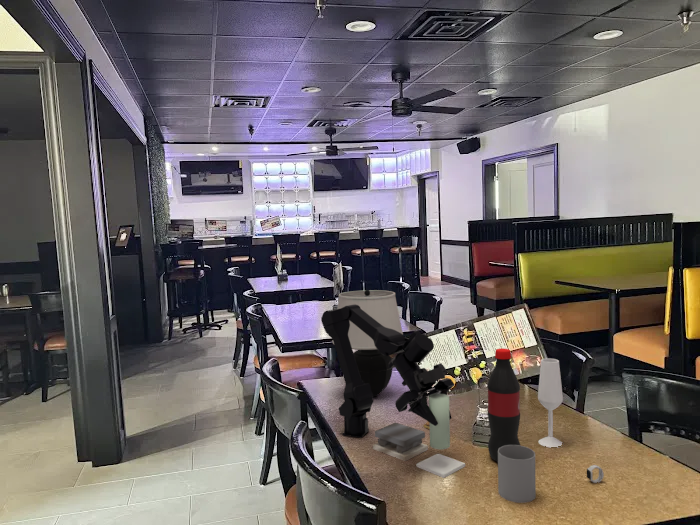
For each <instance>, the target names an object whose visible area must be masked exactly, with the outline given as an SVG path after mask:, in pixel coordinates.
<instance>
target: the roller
mask: <svg viewBox="0 0 700 525" xmlns="http://www.w3.org/2000/svg"><path fill="white" fill-rule="evenodd" d="M428 406H429V408H430V410H431V411H432V413H433V415H434V416H435V418H436V420H437V422H438V424H437V425H436V426H434V425H433V424H431V423H430V422H429V425H430V429H429V446H430V448H432V449H435V450H446V449H449V448H450V447H451V431H450V430H451V429H450V427H451V426H450V424H451V423H450V422H451V419H450V418H449V410H450V396H449V395H448V394H447V395H445V394H432V395H430V396H429V397H428Z"/></svg>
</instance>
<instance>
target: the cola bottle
mask: <svg viewBox="0 0 700 525" xmlns="http://www.w3.org/2000/svg"><path fill="white" fill-rule="evenodd" d="M494 354H495V355H494V359H495V365H494V368H493V370H492V372H491V374H490V377H489V379H488V381H487V383H486V384H487V386H486V389H487V417H488V418H487V419H488V424H489V429H490V436H489V440H488V444H487V449H488V453H489V457H490V458H491V459H492V460H493V461H495V462H497V463H498V449H499V448H500V447H502V446H506V445H520V446H521V442H520V440H519V436H518V434H519V428H520V422H521V408H520V407H521V405H520V404H521V403H520V400H521V399H520V398H521V397H520V391H521V385H520V382H519V380H518V378H517V375H516V373H515V371H514V369H513V367H512V365H511V364H512V363H511V359H512V352H511V349H509V348H501V347H500V348H497V349H495V353H494Z"/></svg>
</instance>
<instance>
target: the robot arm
mask: <svg viewBox="0 0 700 525" xmlns="http://www.w3.org/2000/svg"><path fill="white" fill-rule="evenodd" d="M321 315H322V316H321V317H320V318H321V324H322V326H323V329H324V331H325V333H326V334H327V335H328V336H329V337H330V338H331V339H332V340H333V342H334V344H333V345H334V348H335V352H336V356H337V359H338V363H339V366H340V369H341V372H342V377H343V379H344V380H343V381H344V383H345V386H344V389H343V390H344V391H343V400H344V401H343V403H342V404H341V405H340V406H339V407H338V413H339V415H340V416H341V417H343V423H344V424H343V425H344V426H343V427H344V431H343V432H342V436H346V437H353V438H363V437H364V436H365V435H366V434H367V433H368V432H369V430H370V429H369V418H367V413H370V412H371V410H372V405H373V403H374V397H375V396H374V395H373V394H372V391H371V387H370V384H369V383H367V384H365V383H364V382H363V381H362V380H361V377H360V374H359V371H358V367H357V364H356V360H355V357H354V354H353V353H354V351H353V350H354V349H352V347H351V343H350V340H349V337H348V332H349V328H350V322H349V321H351V322H352V323H353V324H355V325H356V326H357V327H358V328H360V329H361V330H362V331H363V332H364V333H366V334H367V335H368V336H369V337H371V338H372V339H373V341H374V345H375V347H376V348H377V349H378V350H379V351H380V352H381V354H383V355H384V356H393V355H395V356H394V357H391V359H389V366H388V368H389V369H391V368H393V369H394V368H395V369H396V371H397V373H398V374H399V376H400V378H402V380H403V381H402V382H401V384H402V386H403V387H405V386H407V389H409V390H407V391H405V392H403V393H402V394H401V395H400V396H399V397H398V398H397V399H396V400H395V408H396V409H397V411H398V413H402V412H404V411H408V413H412V414H415V415H417V416H419V417H420V418H422V419H424V420H425V421H426V422H427V421H428V422H430V423H431V424H433V425H434V426H436V425H437V424H438V422H437V420H436V418H435V416H434V415H433V413H432V411H431V410H430V408H429V403H428V398H429V396H430V395H432V394H445V395H448V392H449V391H451V389H452V388H454V386H455V383H454V382H453V380H452V378H450V377H449V378H448V377H446V376H445V375H447V369H446V367H445V366H444V364H442V363H436V364H434V365H433V368H432V369H429V370H427V368H425V367H422V368H421V366H420V365H419V363H421V362H423V361H424V360H425V359H426V358H427V356H428V355H429V354H430V353H431V352H432V351H433V349H434V347H435V345H434V341H433V340H432V339H431V338H430V337H428V336H427V335H426V334H425V333H424V334H423V333H421V332H420V331H419V330H415V331H413V332H412V333H411V334H410V336H409V337H406V336H405V335H404V333H403V334H401V333H400V332H398V331H396V330H394V329H390V328H386V327H384V326H382V325H381V324H380V323H378V322H377V321H376V320H375V319H373V318H372V317H371V316H369V315H368V314H367V313H366V312H364V311H363V310H362V309H361V308H360V306H359V305H356V304H354V305H348V306H345V307H343V308H341V309H337V308H335V309H330V310H325V311H324V312H323V314H321ZM333 342H332V343H333ZM372 396H373V397H372ZM408 405H409V409H408ZM449 418H450V420H451V419H452V418H453V417H452V414H451V411H450V409H449Z"/></svg>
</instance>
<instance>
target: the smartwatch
mask: <svg viewBox="0 0 700 525" xmlns="http://www.w3.org/2000/svg"><path fill="white" fill-rule="evenodd" d="M595 469H598V476H597V478H596V479H593V477H594V476H593V474H594V472H593V470H595ZM604 475H605V473H604V471H603V469H602V468H601V467H600V466H599V465H596V464H593V465H592V464H591V465H590V466H589V467H588V468H586V478H587V479H588V480H589V481H590V482H592V483H594V484H598V483H601V481H602V480H603V479H604ZM597 482H598V483H597Z"/></svg>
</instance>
